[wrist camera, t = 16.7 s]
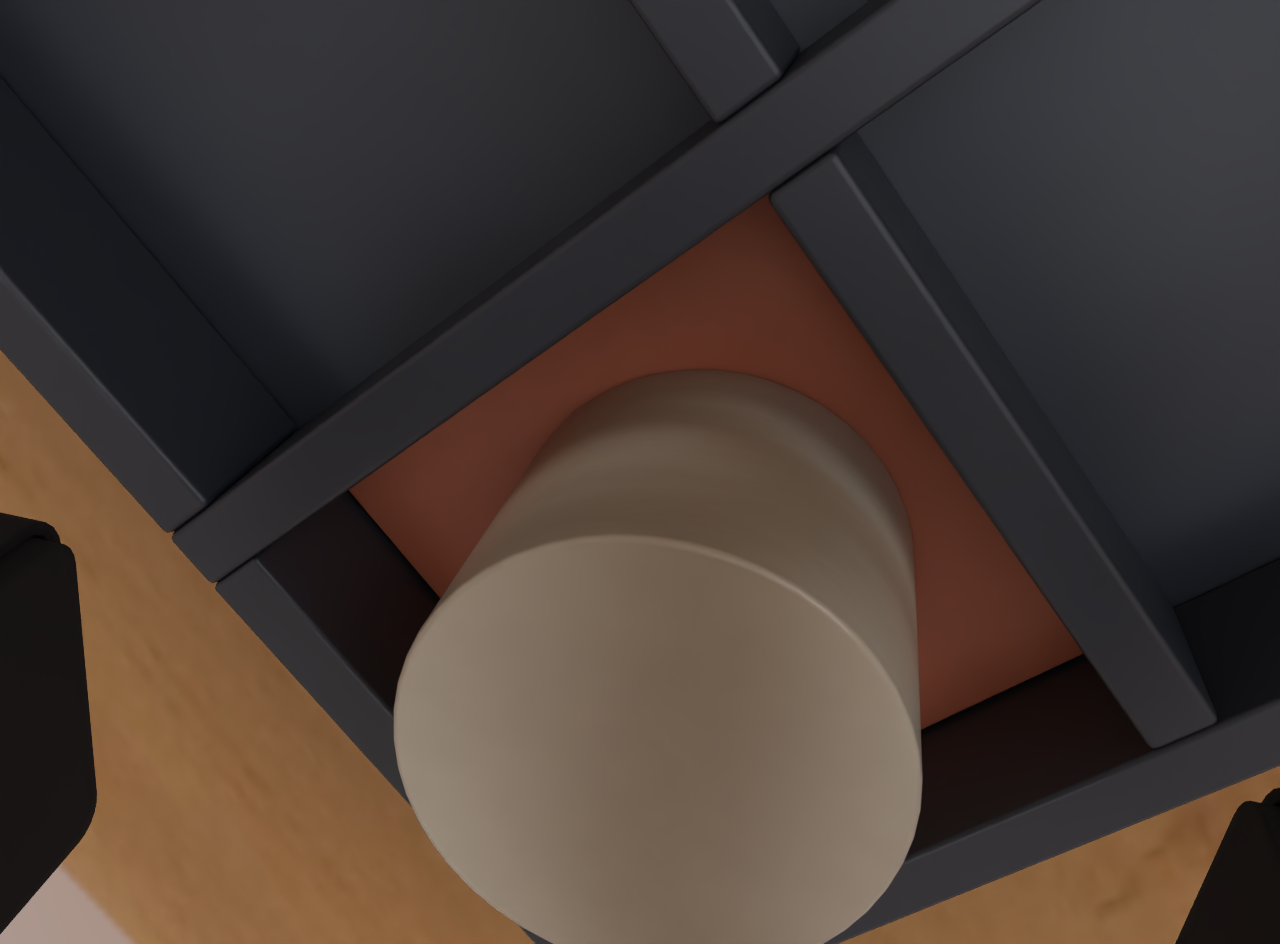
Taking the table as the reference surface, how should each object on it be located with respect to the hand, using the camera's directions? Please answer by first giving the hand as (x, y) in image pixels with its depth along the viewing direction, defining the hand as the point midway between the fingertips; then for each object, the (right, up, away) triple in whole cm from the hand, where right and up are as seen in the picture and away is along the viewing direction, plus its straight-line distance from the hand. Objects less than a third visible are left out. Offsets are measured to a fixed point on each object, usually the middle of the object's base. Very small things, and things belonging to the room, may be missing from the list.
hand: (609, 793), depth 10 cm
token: (+1, +2, +4) cm, 5 cm away
